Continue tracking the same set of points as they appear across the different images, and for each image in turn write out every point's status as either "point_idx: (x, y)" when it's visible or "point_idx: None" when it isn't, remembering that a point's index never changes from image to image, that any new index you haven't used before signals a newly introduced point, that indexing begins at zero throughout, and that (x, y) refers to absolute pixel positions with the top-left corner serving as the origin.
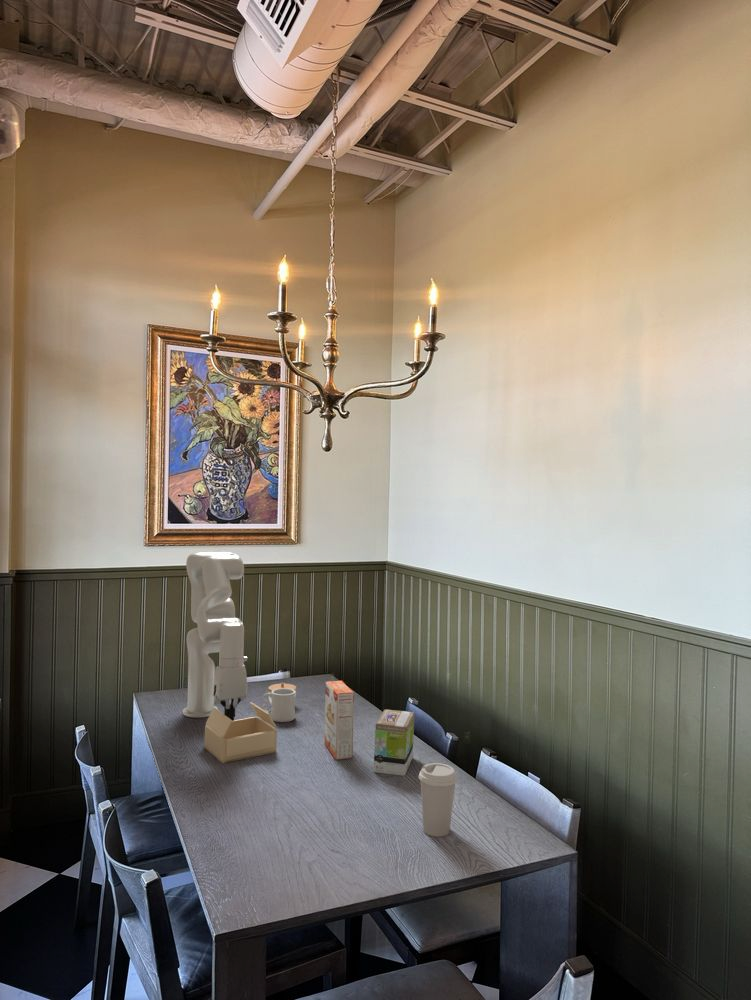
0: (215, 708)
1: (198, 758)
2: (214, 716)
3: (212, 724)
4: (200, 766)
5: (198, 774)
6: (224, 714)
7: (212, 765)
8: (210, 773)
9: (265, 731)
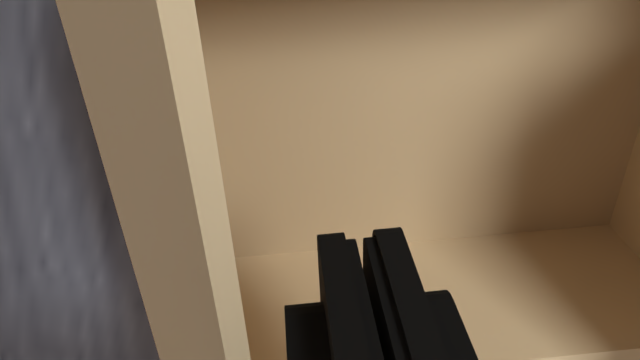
0: (166, 63)
1: (36, 111)
2: (138, 148)
3: (113, 162)
4: (42, 251)
5: (21, 344)
6: (287, 342)
7: (130, 265)
8: (98, 354)
9: (619, 353)
